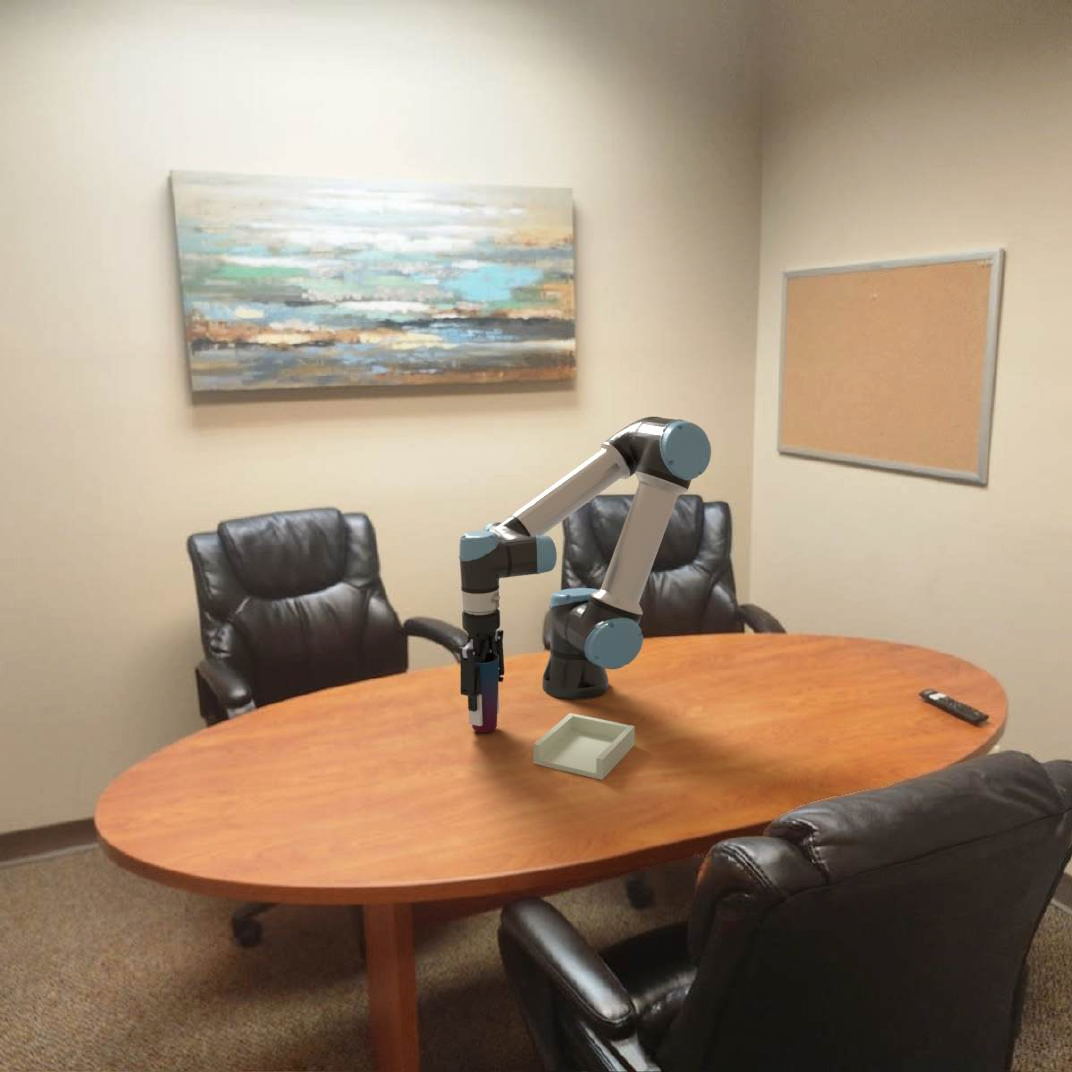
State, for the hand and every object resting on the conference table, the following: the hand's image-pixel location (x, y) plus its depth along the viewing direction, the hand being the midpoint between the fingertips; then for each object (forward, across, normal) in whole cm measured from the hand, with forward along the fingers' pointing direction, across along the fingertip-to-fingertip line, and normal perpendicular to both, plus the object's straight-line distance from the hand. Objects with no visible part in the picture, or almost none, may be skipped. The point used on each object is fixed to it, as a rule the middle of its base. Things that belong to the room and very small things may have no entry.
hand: (484, 717), depth 180 cm
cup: (+2, 0, 0) cm, 2 cm away
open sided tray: (+3, 0, -23) cm, 23 cm away
